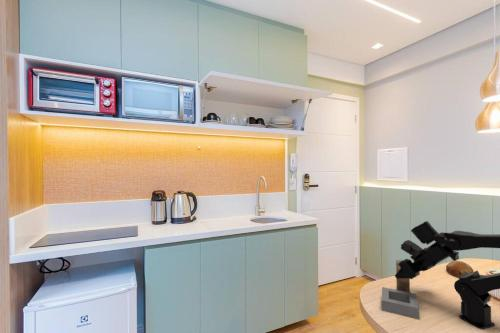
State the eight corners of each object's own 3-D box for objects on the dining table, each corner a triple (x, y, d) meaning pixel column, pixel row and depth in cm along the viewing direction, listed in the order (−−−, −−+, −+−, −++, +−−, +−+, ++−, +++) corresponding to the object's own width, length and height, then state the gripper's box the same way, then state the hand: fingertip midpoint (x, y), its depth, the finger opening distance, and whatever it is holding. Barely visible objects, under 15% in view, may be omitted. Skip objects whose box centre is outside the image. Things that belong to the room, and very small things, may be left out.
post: (412, 295, 97) (412, 263, 97) (403, 297, 95) (403, 264, 96) (402, 289, 101) (402, 259, 101) (393, 291, 100) (393, 260, 100)
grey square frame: (415, 303, 91) (415, 293, 91) (419, 319, 81) (419, 308, 82) (382, 295, 96) (382, 286, 96) (381, 310, 87) (381, 300, 87)
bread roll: (472, 282, 115) (470, 264, 118) (478, 280, 107) (475, 261, 110) (445, 277, 120) (444, 260, 123) (449, 275, 112) (447, 257, 115)
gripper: (426, 231, 100) (397, 251, 109) (404, 239, 89) (374, 260, 98) (450, 257, 93) (417, 275, 102) (429, 268, 83) (395, 288, 92)
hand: (401, 274), depth 99 cm, fingers open, 9 cm apart
